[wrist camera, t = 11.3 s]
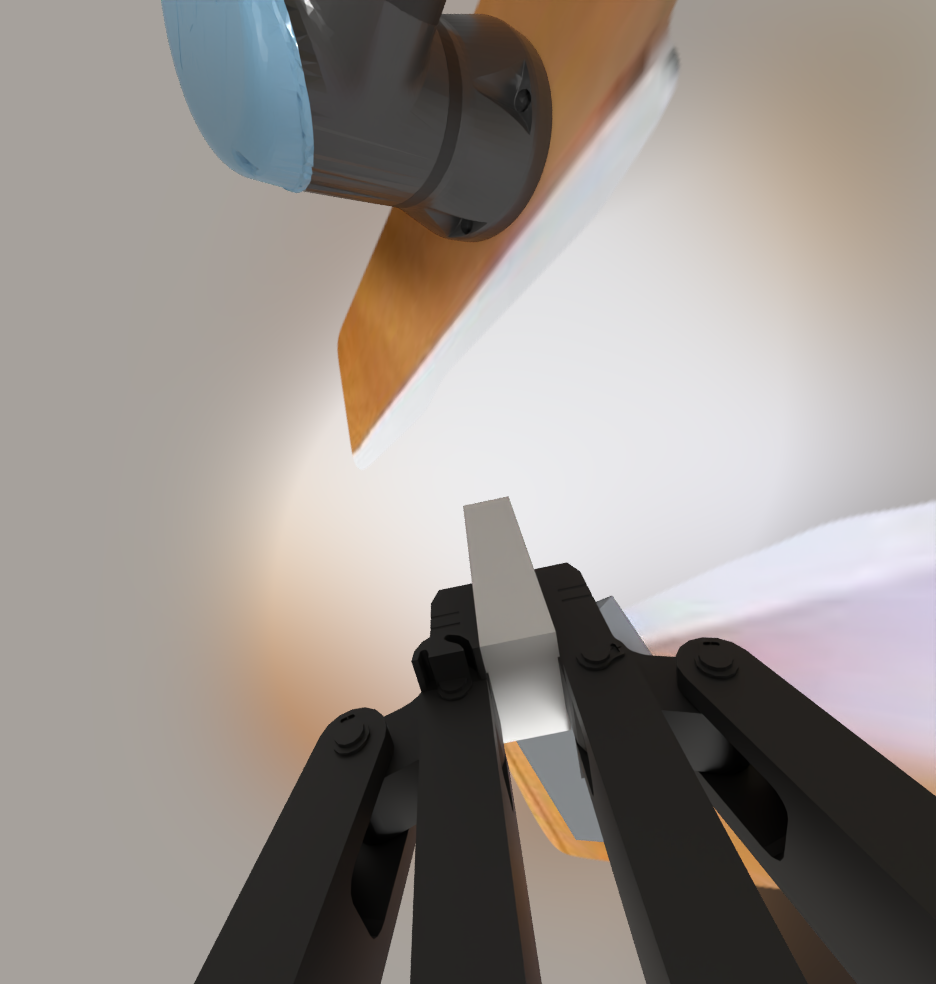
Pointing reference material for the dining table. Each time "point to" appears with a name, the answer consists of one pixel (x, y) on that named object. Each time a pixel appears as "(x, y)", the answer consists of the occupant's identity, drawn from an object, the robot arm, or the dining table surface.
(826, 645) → the dining table surface
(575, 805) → the socket block
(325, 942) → the robot arm
